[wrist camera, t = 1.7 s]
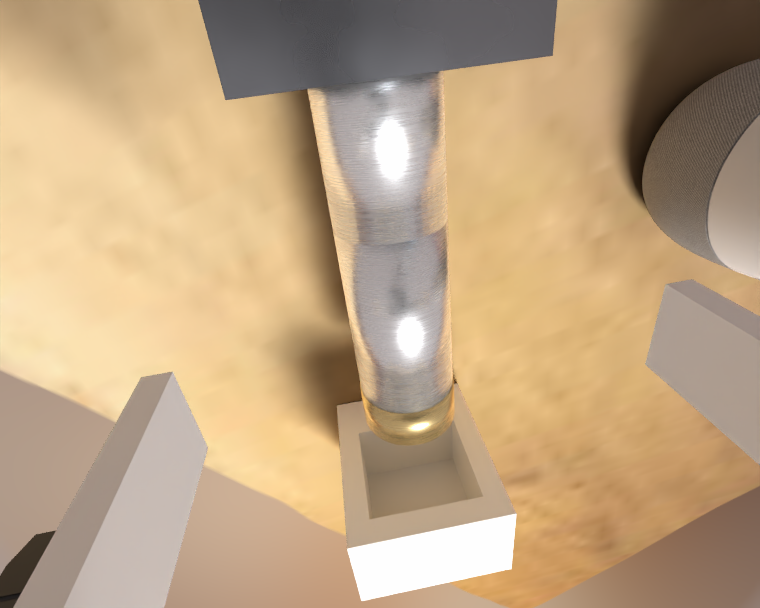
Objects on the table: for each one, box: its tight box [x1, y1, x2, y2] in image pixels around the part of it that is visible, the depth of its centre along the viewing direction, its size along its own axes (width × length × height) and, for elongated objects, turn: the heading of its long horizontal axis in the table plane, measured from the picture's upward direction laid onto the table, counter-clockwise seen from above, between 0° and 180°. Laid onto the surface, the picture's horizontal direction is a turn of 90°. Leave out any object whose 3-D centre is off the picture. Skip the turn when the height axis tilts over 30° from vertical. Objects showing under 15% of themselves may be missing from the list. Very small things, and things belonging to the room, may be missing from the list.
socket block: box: [337, 383, 516, 601], centre depth 25 cm, size 5×8×10 cm, turn 96°
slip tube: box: [307, 71, 455, 446], centre depth 14 cm, size 26×4×4 cm, turn 7°
